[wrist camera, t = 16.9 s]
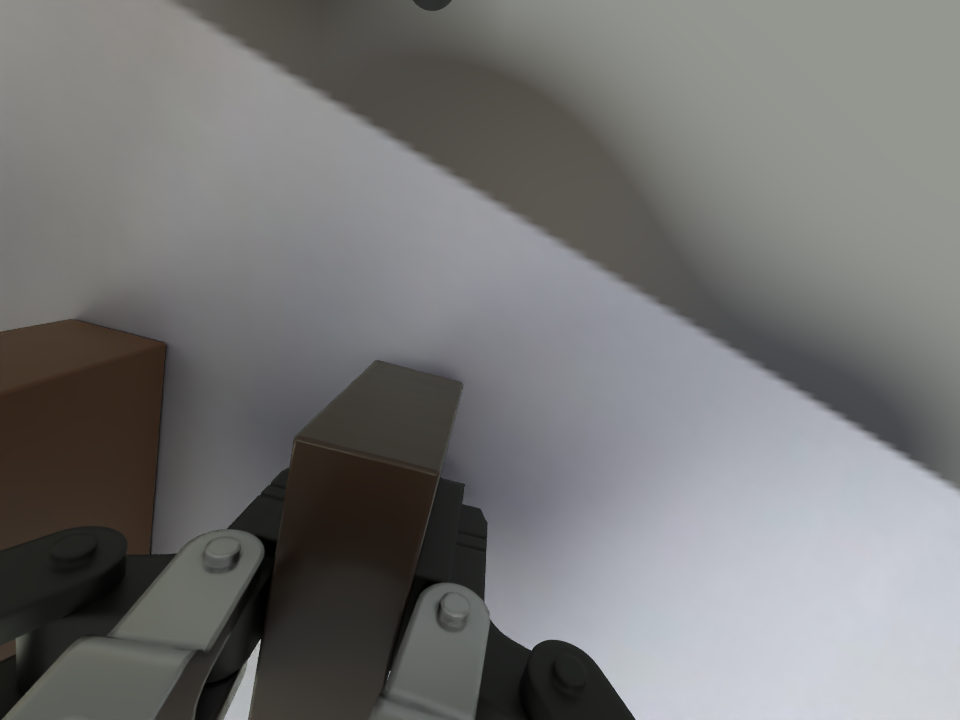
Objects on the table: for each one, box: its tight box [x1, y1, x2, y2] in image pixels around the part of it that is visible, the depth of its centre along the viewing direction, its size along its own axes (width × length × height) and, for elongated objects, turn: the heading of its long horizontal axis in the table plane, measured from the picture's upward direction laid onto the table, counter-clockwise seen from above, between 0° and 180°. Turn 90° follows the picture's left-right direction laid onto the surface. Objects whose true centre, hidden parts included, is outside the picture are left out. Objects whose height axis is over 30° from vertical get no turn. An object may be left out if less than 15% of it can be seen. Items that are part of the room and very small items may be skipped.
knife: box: [248, 360, 463, 720], centre depth 11 cm, size 16×2×4 cm, turn 166°
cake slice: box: [0, 319, 166, 661], centre depth 10 cm, size 9×3×6 cm, turn 165°
